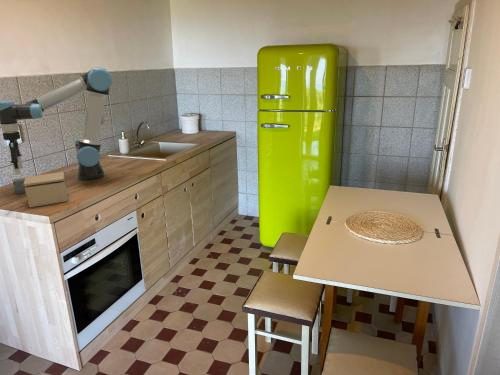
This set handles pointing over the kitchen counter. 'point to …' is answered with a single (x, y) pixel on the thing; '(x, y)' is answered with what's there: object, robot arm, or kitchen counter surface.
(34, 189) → the box
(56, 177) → the lid
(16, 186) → the block
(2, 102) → the robot arm
